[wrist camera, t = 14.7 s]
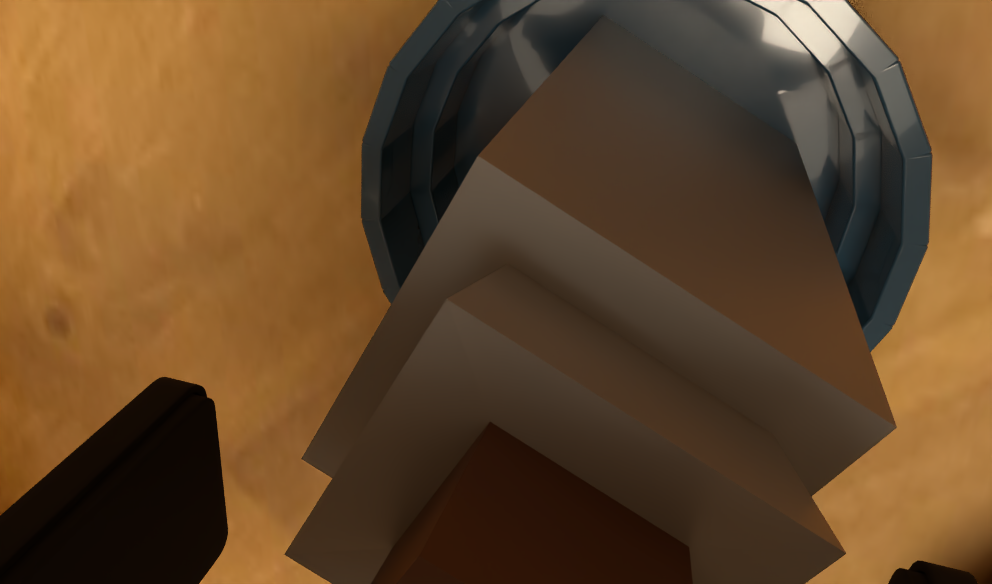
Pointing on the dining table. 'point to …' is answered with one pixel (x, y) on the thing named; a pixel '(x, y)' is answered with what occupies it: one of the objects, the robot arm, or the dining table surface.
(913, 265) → the bowl
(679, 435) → the perfume bottle
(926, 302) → the dining table surface
